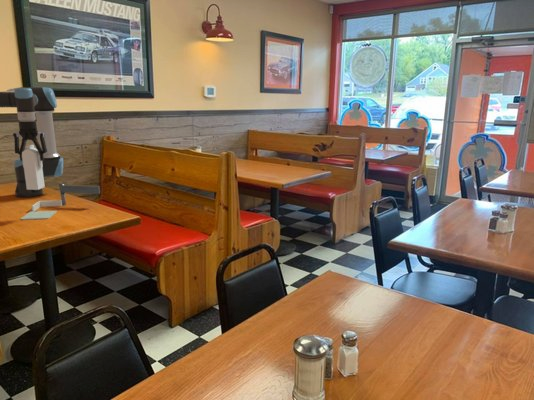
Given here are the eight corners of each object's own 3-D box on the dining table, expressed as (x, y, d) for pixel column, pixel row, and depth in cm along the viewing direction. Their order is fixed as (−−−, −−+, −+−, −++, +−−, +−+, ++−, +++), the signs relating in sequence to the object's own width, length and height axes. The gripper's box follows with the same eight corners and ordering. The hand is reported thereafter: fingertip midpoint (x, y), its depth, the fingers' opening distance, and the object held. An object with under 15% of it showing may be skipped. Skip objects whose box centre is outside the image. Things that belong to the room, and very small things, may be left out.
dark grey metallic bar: (59, 193, 231) (58, 184, 230) (61, 192, 234) (60, 183, 232) (98, 194, 229) (97, 186, 228) (100, 193, 232) (99, 185, 230)
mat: (30, 212, 218) (30, 211, 218) (56, 211, 220) (56, 210, 220) (20, 219, 206) (20, 218, 206) (48, 218, 208) (48, 217, 208)
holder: (40, 205, 233) (39, 193, 231) (66, 204, 235) (65, 192, 233) (32, 211, 220) (30, 199, 218) (58, 210, 222) (57, 198, 221)
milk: (26, 189, 207) (20, 145, 201) (33, 187, 212) (27, 144, 207) (38, 189, 206) (32, 146, 201) (45, 187, 212) (39, 144, 207)
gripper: (1, 121, 196) (8, 168, 201) (46, 121, 199) (51, 168, 205) (8, 120, 203) (15, 166, 209) (51, 120, 206) (56, 165, 212)
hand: (33, 167), depth 207 cm, fingers closed on milk, 7 cm apart
